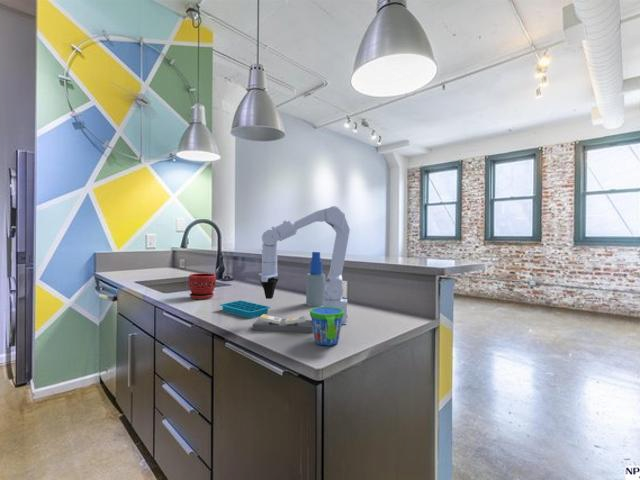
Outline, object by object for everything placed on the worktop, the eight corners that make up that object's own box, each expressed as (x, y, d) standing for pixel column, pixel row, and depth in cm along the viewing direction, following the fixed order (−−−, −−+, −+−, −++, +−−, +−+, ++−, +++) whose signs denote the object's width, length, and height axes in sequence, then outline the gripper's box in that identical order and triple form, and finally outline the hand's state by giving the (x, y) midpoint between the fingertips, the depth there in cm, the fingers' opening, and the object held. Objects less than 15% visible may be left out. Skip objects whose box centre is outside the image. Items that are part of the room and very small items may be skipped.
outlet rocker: (281, 321, 113) (281, 318, 113) (278, 324, 109) (279, 321, 109) (262, 316, 114) (263, 313, 114) (259, 319, 110) (260, 316, 110)
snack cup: (309, 334, 106) (309, 304, 106) (340, 334, 107) (340, 304, 107) (309, 351, 91) (310, 316, 91) (346, 351, 91) (346, 316, 91)
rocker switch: (306, 318, 112) (306, 315, 112) (305, 321, 108) (304, 318, 108) (287, 321, 113) (287, 318, 113) (285, 324, 109) (284, 321, 109)
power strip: (314, 325, 116) (314, 318, 116) (311, 332, 108) (312, 324, 108) (259, 323, 118) (259, 315, 118) (252, 329, 110) (252, 321, 110)
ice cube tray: (240, 306, 145) (240, 300, 145) (271, 314, 133) (271, 307, 133) (218, 311, 136) (218, 304, 136) (249, 320, 124) (250, 312, 123)
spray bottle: (302, 304, 149) (302, 251, 148) (313, 301, 156) (314, 251, 156) (317, 307, 144) (318, 252, 143) (328, 304, 151) (329, 251, 150)
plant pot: (199, 301, 152) (199, 277, 152) (183, 298, 160) (183, 274, 159) (221, 297, 163) (221, 274, 163) (205, 294, 171) (205, 272, 170)
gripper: (264, 260, 126) (264, 293, 126) (253, 263, 111) (252, 301, 112) (282, 260, 125) (281, 294, 125) (272, 264, 111) (272, 302, 111)
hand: (269, 298), depth 118 cm, fingers closed
